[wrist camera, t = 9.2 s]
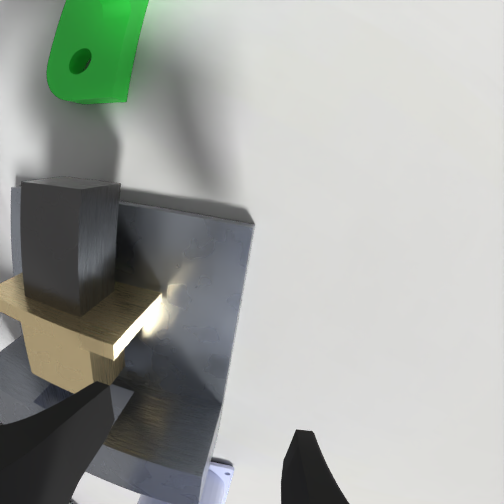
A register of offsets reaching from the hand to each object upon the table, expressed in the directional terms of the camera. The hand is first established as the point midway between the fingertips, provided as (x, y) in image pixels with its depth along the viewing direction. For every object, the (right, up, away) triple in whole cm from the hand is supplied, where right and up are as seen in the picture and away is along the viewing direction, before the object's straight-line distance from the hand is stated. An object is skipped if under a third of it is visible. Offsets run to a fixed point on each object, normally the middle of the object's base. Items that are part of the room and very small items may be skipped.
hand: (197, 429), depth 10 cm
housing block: (-8, +2, +10) cm, 13 cm away
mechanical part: (-8, +22, +5) cm, 24 cm away
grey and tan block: (-7, +5, +8) cm, 12 cm away
